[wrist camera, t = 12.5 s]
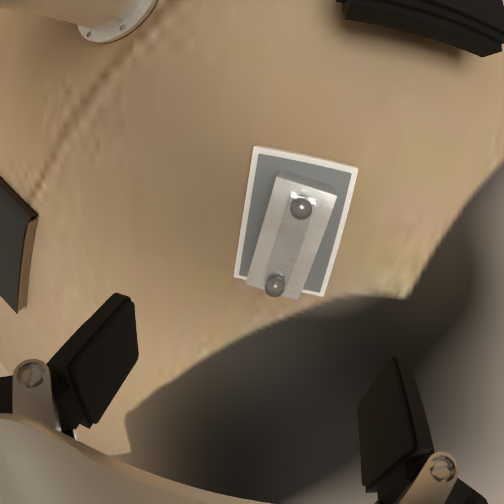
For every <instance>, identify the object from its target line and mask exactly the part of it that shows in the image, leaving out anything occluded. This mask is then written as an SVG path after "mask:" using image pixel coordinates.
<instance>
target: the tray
mask: <svg viewBox="0 0 504 504" xmlns="http://www.w3.org/2000/svg"><path fill="white" fill-rule="evenodd" d="M280 170H284V171H287V172H290V173H293V174H297V175H300V176H303V177H306V178H309V179H312V180H315V181H318V182H321V183H324V184H327V185H330V186H333V188H334V190H335V193H336V195H337V198H336V201H335V204H334V207H333V210H332V213H331V216H330V218H329V221H328V224H327V227H326V229H325V232H324V235H323V238H322V240H321V243H320V246H319V248H318V251H317V254H316V256H315V259H314V261H313V264H312V267H311V269H310V272H309V274H308V277H307V279H306V282H305V284H304V287H303V289H302V292H303V293H308V294H313V295H318V296H322V297H324V294H325V290H326V287H327V284H328V281H329V278H330V274H331V271H332V268H333V264H334V261H335V258H336V254H337V251H338V247H339V244H340V240H341V236H342V233H343V229H344V225H345V222H346V218H347V214H348V210H349V206H350V202H351V198H352V194H353V190H354V186H355V181H356V177H357V173H358V168H357V167H355V166H354V165H351V164H347V163H343V162H339V161H335V160H331V159H326V158H322V157H317V156H313V155H308V154H304V153H299V152H294V151H289V150H284V149H278V148H273V147H267V146H262V145H257V146H254V149H253V155H252V161H251V167H250V173H249V179H248V186H247V192H246V198H245V205H244V211H243V218H242V224H241V231H240V237H239V244H238V250H237V257H236V264H235V270H234V277H235V278H240V279H244V280H247V276H248V273H249V269H250V266H251V262H252V259H253V256H254V252H255V249H256V245H257V242H258V239H259V235H260V232H261V228H262V225H263V221H264V218H265V214H266V211H267V208H268V204H269V201H270V197H271V194H272V190H273V187H274V183H275V180H276V177H277V175H278V174H279V172H280Z"/></svg>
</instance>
